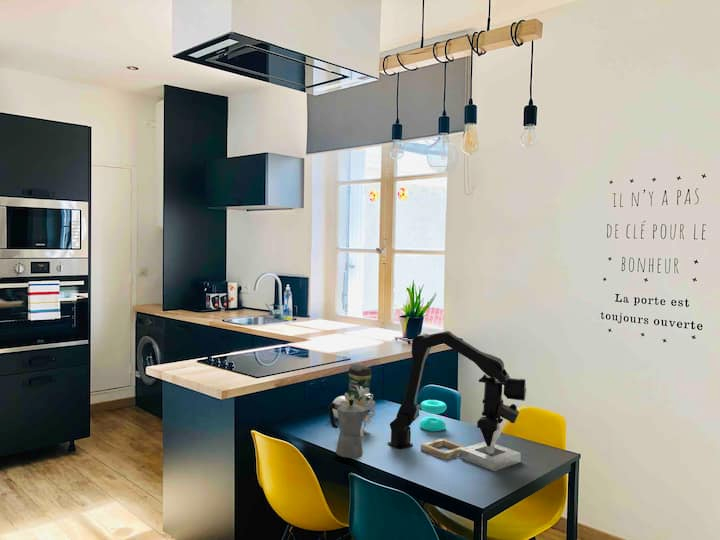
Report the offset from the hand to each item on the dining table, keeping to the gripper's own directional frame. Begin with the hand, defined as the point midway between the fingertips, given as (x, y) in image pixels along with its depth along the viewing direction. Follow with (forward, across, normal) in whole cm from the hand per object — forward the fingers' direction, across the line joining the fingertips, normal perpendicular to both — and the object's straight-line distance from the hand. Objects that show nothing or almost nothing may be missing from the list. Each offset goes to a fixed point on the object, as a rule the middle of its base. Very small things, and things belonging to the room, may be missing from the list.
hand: (490, 443), depth 194 cm
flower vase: (+6, +11, +54) cm, 56 cm away
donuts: (+6, +24, +26) cm, 36 cm away
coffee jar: (+6, +34, +60) cm, 70 cm away
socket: (+6, 0, 0) cm, 6 cm away
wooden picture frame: (+6, 0, +16) cm, 16 cm away
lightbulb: (+4, 0, 0) cm, 4 cm away
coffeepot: (+6, -16, +44) cm, 48 cm away
